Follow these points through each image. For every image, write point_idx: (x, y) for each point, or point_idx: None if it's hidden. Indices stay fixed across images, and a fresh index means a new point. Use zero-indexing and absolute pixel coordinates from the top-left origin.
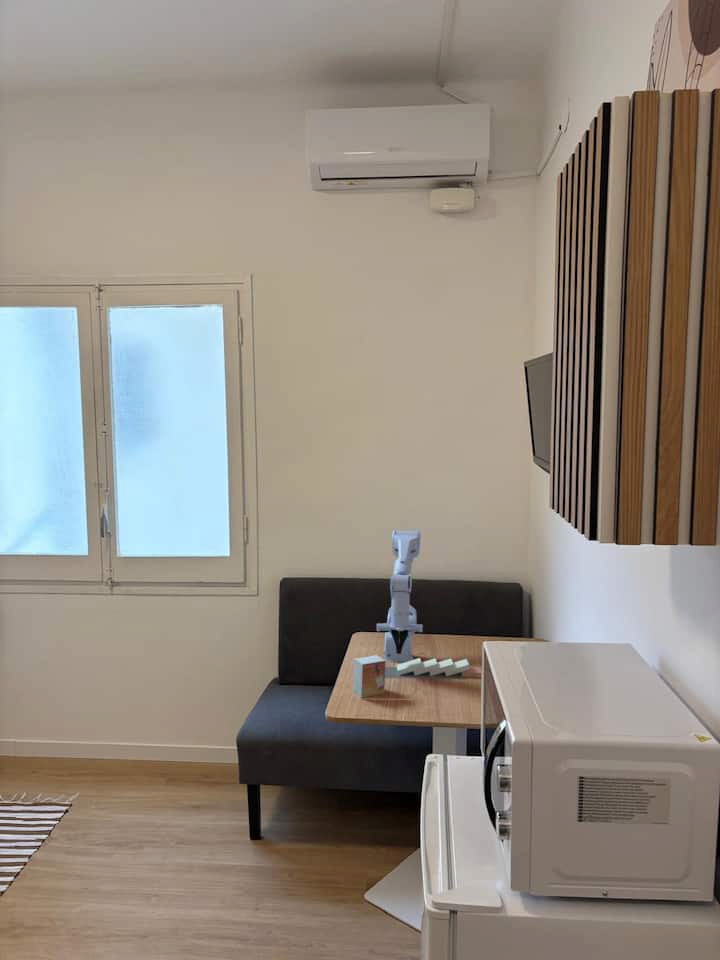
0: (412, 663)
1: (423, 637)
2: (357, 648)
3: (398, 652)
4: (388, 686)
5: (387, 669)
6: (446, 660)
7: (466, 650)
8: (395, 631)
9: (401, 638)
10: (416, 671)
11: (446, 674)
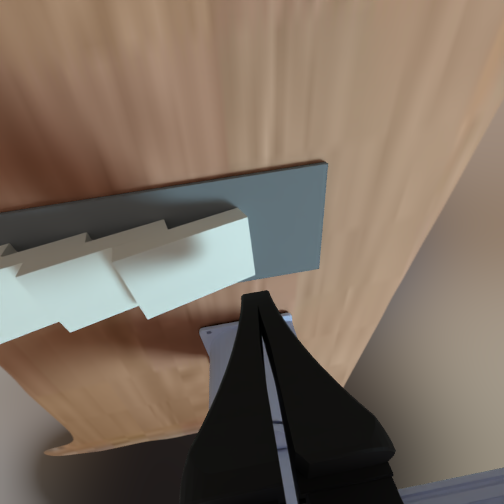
0: (177, 273)
1: (200, 425)
2: (356, 358)
3: (259, 297)
4: (289, 44)
5: (287, 254)
6: (14, 331)
7: (71, 411)
8: (345, 496)
9: (258, 410)
10: (152, 231)
11: (2, 248)
